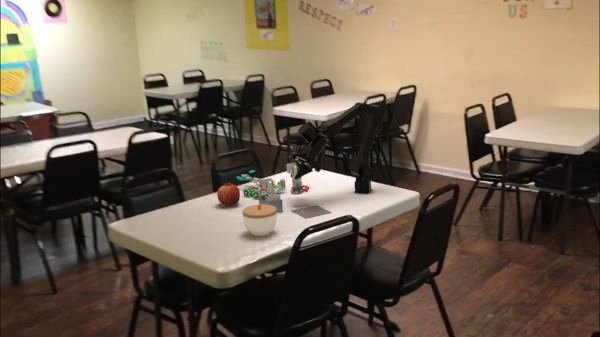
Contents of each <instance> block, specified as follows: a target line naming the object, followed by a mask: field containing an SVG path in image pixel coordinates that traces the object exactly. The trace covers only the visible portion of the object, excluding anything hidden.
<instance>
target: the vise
mask: <svg viewBox="0 0 600 337" xmlns="http://www.w3.org/2000/svg"><path fill="white" fill-rule="evenodd" d="M260 179H261V180H260V183H261V189H265V183H266V193H262V194H260V197H259V199H258V204H265V205H272V206H274V207H276V208H277V213H283V212H284V205H283V199H281V195H280V194H279V193H275V192H274V186H273V180H274V179H272V178H271V177H268V178H260Z"/></svg>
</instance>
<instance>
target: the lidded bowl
mask: <svg viewBox="0 0 600 337" xmlns="http://www.w3.org/2000/svg"><path fill="white" fill-rule="evenodd" d="M241 213H242V218H243V224H244V227H245V228H246V230H247V231H248V232H250V234H251V235H252V236H255V237H264V236H268V235H270V234H271V233H272V231H274V229H275V227H276V225H277V216H278V215H277V208H276V207H274V206H272V205H265V204H259V203H258V204H253V205H250V206H245V207H244V208H243V209H242V212H241Z"/></svg>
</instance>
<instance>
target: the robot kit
mask: <svg viewBox="0 0 600 337" xmlns="http://www.w3.org/2000/svg"><path fill="white" fill-rule="evenodd" d="M256 174H257V173H256V170H250V171H248V174H247V173H246V174H244V173H243V174H242V173H241V176H236V179H237V180H239V181H250V182H251V183H253V184H254V185H250V187H244V188H243V190H242V194H243V196H244V197H245V198H249V197H251V196H253V198H254V199H255V200H259V197H260V194H262V193H266V183H265V189H261V183H260V180H261V179H262V178H257V177H256V176H257V175H256ZM272 180H273V186H274V192H275V194H279V193H281V192H284V191H285V190H286V180H285V179H284V178H281V179H280V180H279V181H278V182H276V181H275V180H274V179H272Z"/></svg>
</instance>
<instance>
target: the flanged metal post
mask: <svg viewBox="0 0 600 337" xmlns="http://www.w3.org/2000/svg"><path fill="white" fill-rule="evenodd" d="M298 171H299V165H298V163H296V162H295V163H294V162H291V163H286V173H287V174H291V173H292V178H291V179H292V180H291V181H292V182H291V183H292V186H293V190H291V189H290V195H297V196H298V195H301V194H304V192H303V190H301V189H300V178H299V179H297V180H296V179H294V178H295V176H296V174H297V172H298Z"/></svg>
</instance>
